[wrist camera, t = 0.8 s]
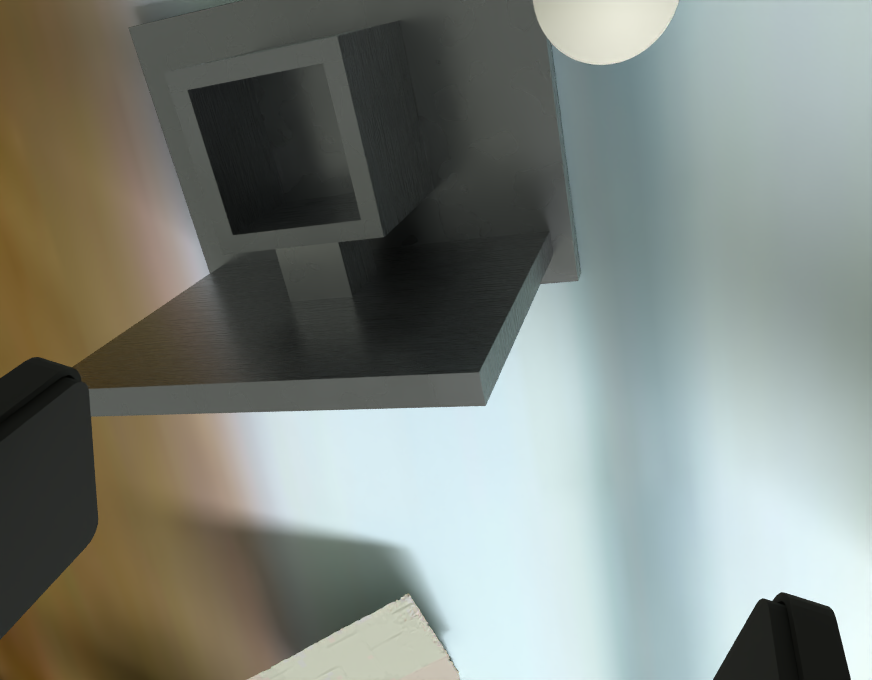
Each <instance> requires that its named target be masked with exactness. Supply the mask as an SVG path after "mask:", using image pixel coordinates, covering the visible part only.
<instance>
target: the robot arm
mask: <svg viewBox="0 0 872 680" xmlns="http://www.w3.org/2000/svg"><path fill="white" fill-rule="evenodd" d="M97 525H98V511H97V497H96V483H95V469H94V455H93V440H92V426H91V412H90V398H89V389H88V386H87V385H86V383H84V382H82V380H81V376H80V374H79V372H78V371H77V370H76V369H74V368H71V367H68V366H65V365H62V364H59V363H56V362H52V361H49V360H46V359H43V358H40V357H34V358H31V359H29V360H27V361H25V362H23V363H22V364H20V365H19V366H18V367H16V368H15V369H13V370H12V371H10V372H9V373H7V374H6V375H4V376H3V377H2V378H0V639H1V638H2V637H3V636H4V635H5V634H6V633H7V632H8V631H9V630H10V628H11V627H12V626H13V625H14V624H15V623H16V622H17V621H18V620H19V619H20V618H21V617H22V615H23V614H24V613H25V612H26V611H27V610H28V609H29V608H30V607H31V606H32V605H33V604H34V603H35V601H36V600H37V599H38V598H39V597H40V596H41V595H42V594H43V593H44V592H45V591H46V590H47V589H48V587H49V586H50V585H51V584H52V583H53V582H54V581H55V580H56V579H57V578H58V577H59V576H60V575H61V573H62V572H63V571H64V570H65V569H66V568H67V567H68V566H69V565H70V564H71V563H72V562H73V560H74V559H75V558H76V557H77V556H78V555H79V554H80V553H81V552H82V551H83V550H84V549H85V548H86V546H87V545H88V544H89V543H90V541H91V540H92V538H93V536H94V534H95V531H96V529H97ZM713 680H851V678H850V674H849V670H848V666H847V662H846V658H845V653H844V649H843V645H842V641H841V637H840V633H839V629H838V624H837V620H836V617H835V614H834V612H833V610H832V609H831V608H830V607H828V606H825V605H822V604H819V603H816V602H813V601H809V600H806V599H803V598H800V597H797V596H794V595H790V594H787V593H782V592H781V593H779V594H778V595H777V596H776V597H775V598H774V600H773V601H770V600H767V599H761V600H759V601H758V603H757V604H756V605H755V607H754V609H753V611H752V612H751V614H750V616H749V618H748V619H747V621H746V623H745V625H744V626H743V628H742V630H741V632H740V633H739V635H738V637H737V639H736V640H735V642H734V644H733V646H732V647H731V649H730V651H729V653H728V654H727V656H726V658H725V660H724V661H723V663H722V665H721V667H720V668H719V670H718V672H717V674H716V675H715V677H714V679H713Z"/></svg>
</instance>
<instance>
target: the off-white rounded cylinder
mask: <svg viewBox="0 0 872 680" xmlns="http://www.w3.org/2000/svg"><path fill="white" fill-rule="evenodd" d="M678 2H679V0H533V5H534V10H535V14H536V17H537V20H538V22H539V25H540V27H541V29H542V31H543V32H544V34H545V35H546V37H547V38H548V39H549V41H550V42H551V43H552V44H553V45H554V46H555V47H556V48H557V49H558V50H559V51H561V52H562V53H564V54H565V55H567V56H568V57H570V58H572V59H575V60H577V61H580V62H583V63H588V64H594V65H607V64H614V63H618V62H622V61H625V60H628V59H630V58H632V57H634V56H636V55H638V54H640V53H641V52H643V51H644V50H646V49H647V48H648V47H650V46H651V45H652V44H653V43H654V42H655V41H656V40H657V39H658V38H659V37H660V36H661V34H662V33H663V32H664V30H665V29H666V28H667V26H668V25H669V23H670V21H671V19H672V17H673V15H674V13H675V10H676V8H677V5H678Z"/></svg>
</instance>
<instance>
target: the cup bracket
mask: <svg viewBox="0 0 872 680" xmlns="http://www.w3.org/2000/svg"><path fill="white" fill-rule="evenodd" d="M129 31H130V34H131V37H132V40H133V43H134V46H135V49H136V52H137V55H138V58H139V61H140V64H141V67H142V70H143V73H144V76H145V79H146V82H147V85H148V88H149V91H150V94H151V97H152V100H153V103H154V106H155V109H156V112H157V115H158V118H159V121H160V124H161V127H162V130H163V133H164V136H165V139H166V142H167V145H168V148H169V151H170V154H171V157H172V160H173V163H174V166H175V169H176V172H177V175H178V178H179V181H180V184H181V187H182V190H183V193H184V196H185V199H186V202H187V205H188V208H189V211H190V214H191V217H192V220H193V223H194V226H195V229H196V232H197V235H198V238H199V241H200V245H201V248H202V251H203V254H204V257H205V260H206V263H207V266H208V269H209V272H210V274H209V275H207V276H206V277H204V278H203V279H201V280H200V281H199V282H197V283H196V284H194V285H193V286H191V287H190V288H188V289H187V290H185V291H184V292H182V293H181V294H179V295H178V296H176V297H175V298H173V299H172V300H171V301H169V302H168V303H166V304H165V305H163V306H162V307H160V308H159V309H157V310H156V311H154V312H153V313H151V314H150V315H148V316H147V317H145V318H144V319H143V320H141V321H140V322H138V323H137V324H135V325H134V326H132V327H131V328H129V329H128V330H126V331H125V332H123V333H122V334H120V335H119V336H117V337H116V338H115V339H113V340H112V341H110V342H109V343H107V344H106V345H104V346H103V347H101V348H100V349H98V350H97V351H95V352H94V353H92V354H91V355H89V356H88V357H87V358H85V359H84V360H82V361H81V362H79V363H78V364H76V365H75V366H73V367H72V368H74V369H76V370H77V371H78V372H79V374H80V376H81V380H82V382H84V383H86V385H87V386H88V389H89V398H90V412H91V416H127V415H163V414H200V413H237V412H274V411H311V410H348V409H385V408H422V407H458V406H486V404H487V401H488V399H489V397H490V395H491V393H492V390H493V388H494V386H495V384H496V381H497V379H498V377H499V375H500V373H501V370H502V368H503V366H504V364H505V361H506V359H507V357H508V355H509V353H510V350H511V348H512V346H513V344H514V341H515V339H516V337H517V335H518V332H519V330H520V328H521V326H522V324H523V321H524V319H525V317H526V315H527V312H528V310H529V308H530V306H531V304H532V301H533V299H534V297H535V295H536V292H537V290H538V288H539V286H540V284H546V283H558V282H570V281H578V280H579V277H580V274H581V271H580V264H579V256H578V248H577V240H576V233H575V225H574V217H573V210H572V202H571V194H570V186H569V179H568V171H567V163H566V156H565V148H564V140H563V132H562V125H561V117H560V109H559V102H558V94H557V86H556V78H555V71H554V63H553V55H552V48H551V42H550V41H549V39H548V38H547V37H546V35H545V34H544V32H543V31H542V29H541V27H540V25H539V22H538V20H537V17H536V14H535V10H534V5H533V0H242V1H238V2H234V3H230V4H225V5H221V6H217V7H213V8H209V9H204V10H200V11H196V12H192V13H188V14H184V15H179V16H175V17H171V18H167V19H163V20H158V21H154V22H150V23H146V24H142V25H138V26H133V27H129Z"/></svg>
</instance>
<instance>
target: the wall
mask: <svg viewBox="0 0 872 680" xmlns="http://www.w3.org/2000/svg"><path fill="white" fill-rule="evenodd" d="M427 624H428V622H426V620H425V619H424V616H422V613H421V612H420V609H419V608H418V607H417V606H416V604H415V603H414V601H413V599H411V596H410V594H409V593H408V594H405V595H404V596H403V597H401V599H400V600H396V601H395V602H392V603H389V604H387V605H386V606H384V607H383V608H380V609H379V610H377V611H376V612H374V613H371V615H367V616H366V617H364V618H361V620H360V621H359V620H357V621H355V622H354V623H352V624H351V626H350V624H349V626H345V628H341V629H340V632H339V631H337V632H334V633H333V634H331V635H330V636H328V637H327V638H324V639H322V640H320V641H319V642H318V643H314V644H313V645H312V646H311V645H310V646H309V647H308V648H305V649H304V650H303V651H301V652H298V653H296V655H294V656H291V658H288V659H285V660H282V661H281V662H280V663H278V664H275V666H272V667H271V669H269V670H266V671H263V672H261V673H259V674H258V675H255V676H254V677H250V679H248V680H460V679H459V674H458V673H459V672H458V671H456V668H455V666H453V662H452V661H451V662H450V661H449V659H450V658H449V657H448V656H449V655H448V654H447V651H446V650H445V649H444V648H443V646H442V644H441V642H439V640H438V639H437V637H436V634H435V633H433V630H432V629H431V628H430V626H427Z"/></svg>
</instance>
